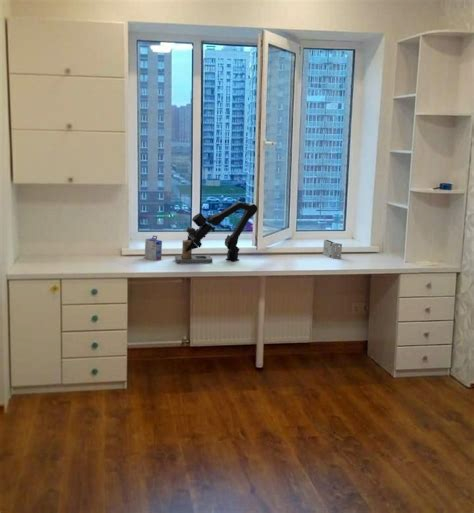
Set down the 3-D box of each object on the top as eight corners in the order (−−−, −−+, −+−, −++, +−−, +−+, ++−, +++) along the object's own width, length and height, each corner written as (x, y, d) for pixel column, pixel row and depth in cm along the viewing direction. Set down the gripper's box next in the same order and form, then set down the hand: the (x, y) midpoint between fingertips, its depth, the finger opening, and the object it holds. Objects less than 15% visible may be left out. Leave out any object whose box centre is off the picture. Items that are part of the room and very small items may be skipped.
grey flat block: (209, 259, 409) (209, 255, 409) (212, 263, 401) (212, 259, 400) (175, 259, 404) (175, 255, 403) (177, 263, 395) (177, 259, 395)
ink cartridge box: (162, 259, 403) (162, 237, 399) (155, 261, 398) (156, 238, 394) (150, 256, 408) (151, 234, 404) (144, 258, 404) (144, 235, 400)
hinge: (341, 258, 428) (342, 243, 425) (335, 259, 425) (337, 244, 422) (325, 253, 438) (326, 239, 435) (320, 254, 435) (321, 240, 432)
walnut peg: (190, 260, 404) (190, 240, 401) (191, 262, 400) (191, 242, 396) (182, 260, 403) (182, 240, 400) (183, 262, 398) (183, 242, 395)
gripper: (191, 219, 404) (173, 236, 405) (197, 225, 387) (178, 243, 387) (203, 231, 408) (185, 248, 409) (209, 238, 391) (190, 256, 391)
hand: (184, 248), depth 399 cm, fingers open, 9 cm apart
